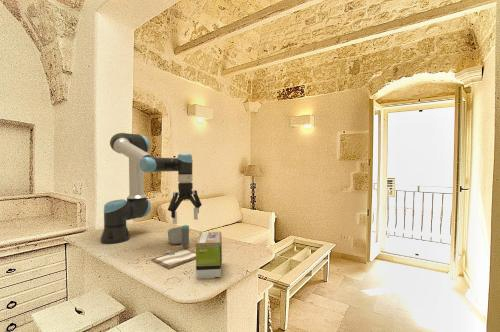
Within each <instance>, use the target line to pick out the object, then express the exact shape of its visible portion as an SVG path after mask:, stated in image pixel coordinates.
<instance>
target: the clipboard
mask: <svg viewBox="0 0 500 332" xmlns="http://www.w3.org/2000/svg"><path fill="white" fill-rule="evenodd" d="M194 260H195V261H196V251H193V250H191V249H187V248H184V247H183V248H182V249H179V250H175V251H170V250H168V251H166V252H165V254H163V255H160V256H157V257H154V258H150V261H151V262H152V263H155V264H156V265H159V266H161V267H163V268H165V269H167V270H171V269H174V268H177V267H178V266H182V265H184V264H187V263H189V262H192V261H194Z"/></svg>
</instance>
